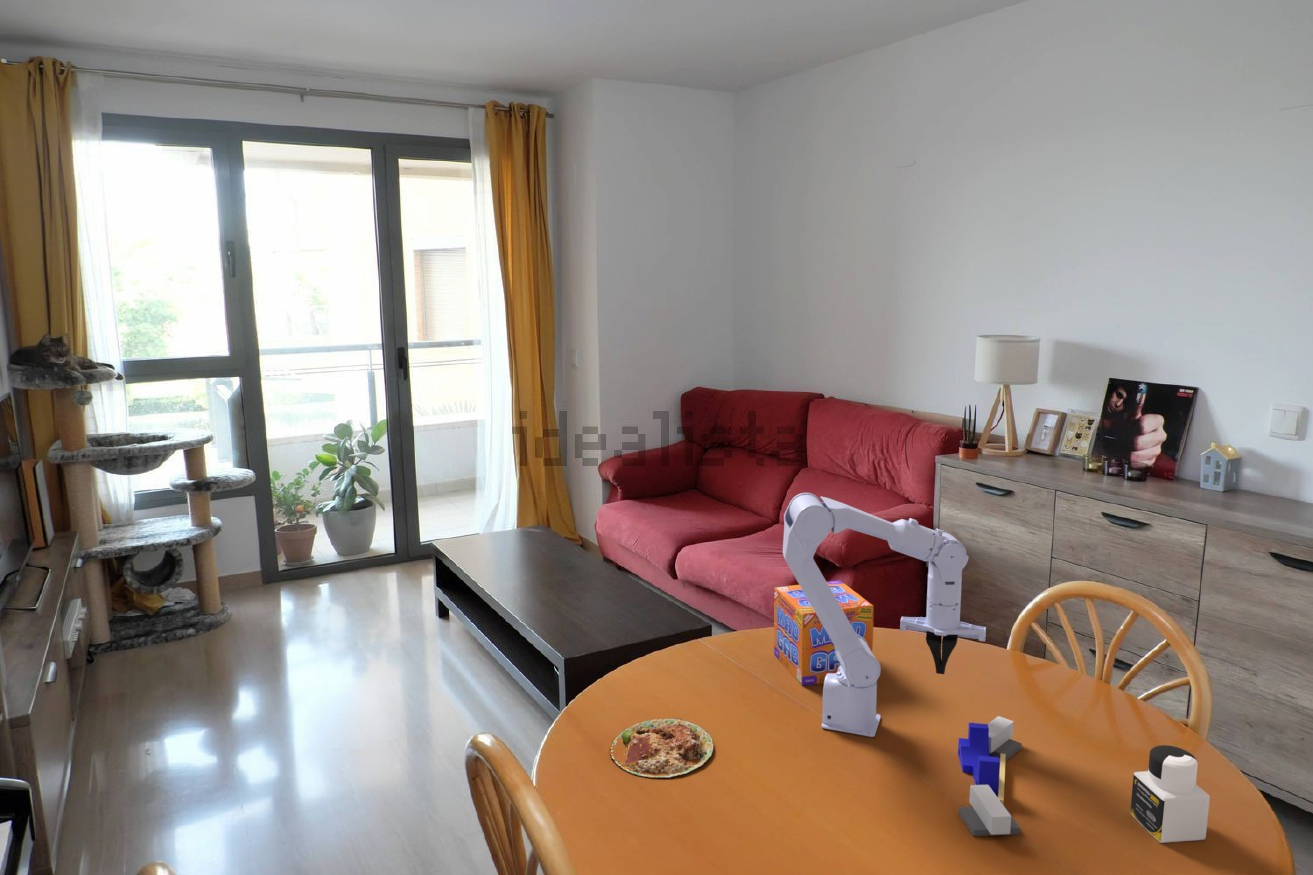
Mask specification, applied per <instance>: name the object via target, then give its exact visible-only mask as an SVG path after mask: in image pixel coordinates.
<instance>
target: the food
mask: <svg viewBox="0 0 1313 875" xmlns="http://www.w3.org/2000/svg"><path fill="white" fill-rule="evenodd" d="M632 731H636V733H634V732H632ZM618 738H622V739H623V742H622V743H624V742H625V743H626V744H627V745H626V746H627V747H628V751H627V753H626V756H625V757H626V758H625V757H624V761H625V762H624V761H623V762H624V766H625V767H622V766H621V764H622V763H621V764H619V763H618V762H617V761H613V762H614V764H615V765H617V766H618V767H619V766H621V767H620V769H622V770H624V771H626V772H628V773H629V774H632V775H635V776H638V777H645V778H649V779H652V778H654V779H657V778H661V779H663V778H664V779H665V778H667V779H668V778H674V777H678V776H682V775H686V774H688V773H690V772H693V771H694V770H696V769H698V768H699V767H702V766H703V765H704V764H706V762H707V761H708V760H709V758H710V757H712V754H713V751H714V747H715V746H714V743H713V738H712V737H711V735H710V734H709V732H708V731H706V730H705V729H704V728H702V726H699V725H697V724H695V723H693V722H689V721H687V720H683V719H680V718H677V717H676V718H660V719H659V718H656V719H647V720H644V721H643V722H642V721H641V722H638V723H636V724H632V725H631V726H628V727H627V728H626V729H625V730H624V731H621V732H620V733H619V734H618V735H617V736H616V737H615V738H614V739H613V740H612V742H611V745H612V746H613V745H616V743H617V740H618ZM625 743H624V744H625ZM612 748H613V747H611V746H610V747H609V753H610V752H613V751H614V750H611V749H612ZM611 755H613V754H611ZM611 755H610V758H611V760H612V759H615V758H614V756H612V757H611ZM698 759H699V761H698V762H697V763H696V764H694V763H688V761H687V760H690V761H691V760H698ZM627 768H631V770H632V769H635V771H634V772H633V770H632V771H630V770H629V769H627ZM647 772H648V773H655V774H658V773H667V774H668V775H650V774H644V773H647ZM640 773H643V774H640Z"/></svg>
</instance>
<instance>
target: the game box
mask: <svg viewBox="0 0 1313 875" xmlns="http://www.w3.org/2000/svg"><path fill="white" fill-rule="evenodd" d="M826 582H827V584H828V585H829V587H830V589H831V591H832V592H833V594H834V596H835V598H836V599H837V601H838V603H839V605H840V606H841V608H842V610H843V612H844V613H845V615H846V617H847V619H848V620H849V622H850V624H851V626H852V627H853V629H854V631H855V632H856V633H857V634H858V635H860V636H861V637H863V638H864V639H865V640H866V642H867V643H868V646H869V648H870V650H871V652H872V653H873V644H874V642H873V641H874V617H875V614H874V610H875V609H874V605H873V604H872V603H871V602H869V601H868V600H867V599H865V598H864V597H862V595H860V594H859V593H858V592H856V591H854V590H853V588H851V587H850V586H848V585H847V584H846V583H844V582H843V581H841V580H830V581H826ZM773 593H774V594H773V621H774V622H773V654H774V656H775V657H776V658H777V659H778V660H779V662H780V663H782V665H783V666H784V667H785V668H786V669H787V670H788V672H789V673H790V674H791V675H792V676H793V677H794V678H795V681H797V682H798V683H799V684H800V685H801V686H802V687H803V686H809V685H818V684H824V681H825V677H826V675H827V674H828V673H837V671H838V668H839V666H840V662H839V661H838V659H837V658H836V655H835V646H834V644H833V642H832V640H831V638H830V637H829V635H828V633H827V632H826V630H825V628H824V626H823V625H822V623H821V621H820V619H819V618H818V616H817V614H816V613H815V611H814V609H813V607H812V606H811V604H810V602H809V600H808V599H807V597H806V595H805V594H804V592H803V590H802V588H801V587H800V585H799V584H794V585H793V584H792V585H785V586H776V587H775V586H774V591H773Z"/></svg>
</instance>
